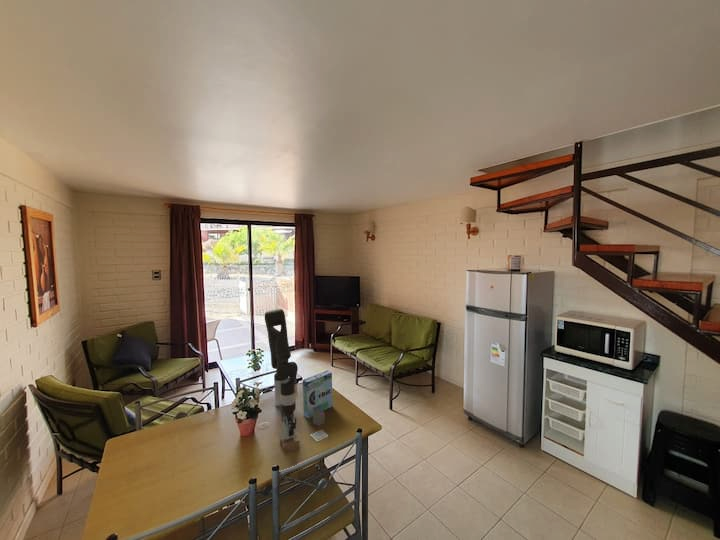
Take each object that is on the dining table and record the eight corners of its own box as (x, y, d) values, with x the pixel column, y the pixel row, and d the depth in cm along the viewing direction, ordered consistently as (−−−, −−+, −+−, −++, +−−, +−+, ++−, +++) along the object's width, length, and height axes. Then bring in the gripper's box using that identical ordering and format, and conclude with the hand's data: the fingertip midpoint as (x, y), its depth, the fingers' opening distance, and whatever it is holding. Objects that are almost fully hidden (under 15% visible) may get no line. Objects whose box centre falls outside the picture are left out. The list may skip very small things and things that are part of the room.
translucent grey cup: (312, 423, 168) (312, 413, 168) (318, 419, 172) (318, 409, 172) (318, 426, 165) (318, 416, 165) (325, 422, 169) (324, 412, 169)
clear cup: (282, 434, 149) (282, 423, 148) (291, 430, 152) (291, 419, 151) (286, 439, 145) (286, 427, 144) (295, 435, 148) (295, 423, 147)
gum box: (328, 403, 189) (327, 370, 188) (333, 406, 186) (332, 372, 184) (303, 415, 176) (302, 379, 174) (307, 419, 172) (306, 382, 171)
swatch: (310, 435, 157) (310, 434, 157) (321, 430, 161) (321, 429, 161) (316, 441, 151) (316, 440, 151) (328, 436, 155) (328, 435, 155)
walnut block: (279, 444, 150) (279, 437, 150) (294, 439, 154) (294, 432, 154) (284, 453, 143) (283, 445, 143) (299, 447, 147) (299, 440, 147)
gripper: (275, 398, 151) (276, 429, 152) (286, 409, 139) (287, 443, 140) (289, 393, 155) (290, 423, 156) (301, 404, 144) (301, 436, 145)
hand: (289, 432), depth 148 cm, fingers closed on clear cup, 5 cm apart
